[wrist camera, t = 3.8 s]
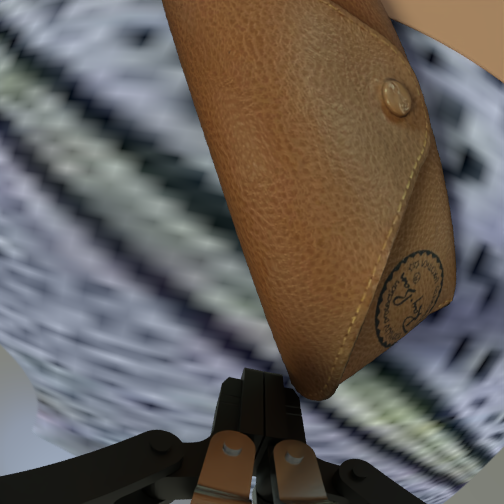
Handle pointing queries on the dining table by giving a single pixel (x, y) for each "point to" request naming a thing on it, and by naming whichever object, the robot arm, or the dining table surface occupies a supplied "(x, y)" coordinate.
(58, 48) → the dining table surface
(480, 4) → the mat
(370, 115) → the sunglasses case
